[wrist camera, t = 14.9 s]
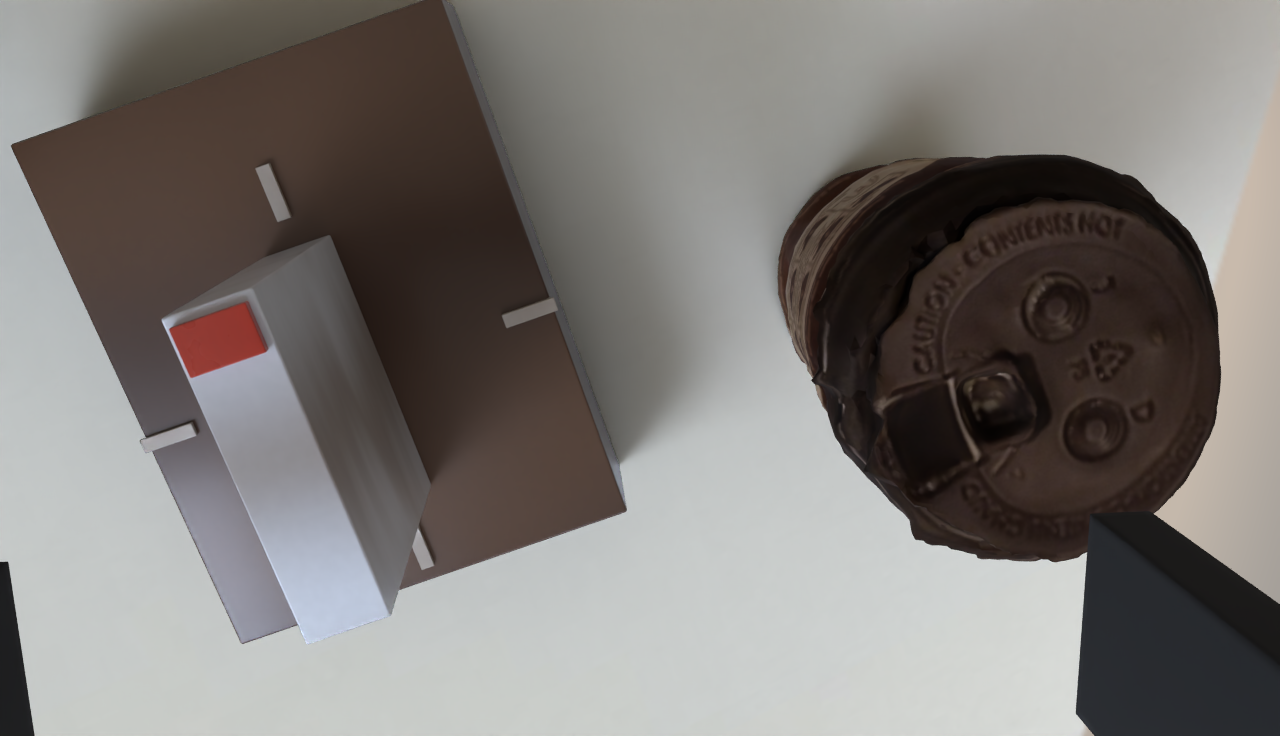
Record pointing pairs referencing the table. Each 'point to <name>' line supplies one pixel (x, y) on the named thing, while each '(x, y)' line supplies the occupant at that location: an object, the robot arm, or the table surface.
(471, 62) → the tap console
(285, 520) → the white block
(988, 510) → the coffee cup
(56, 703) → the table surface
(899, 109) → the table surface
